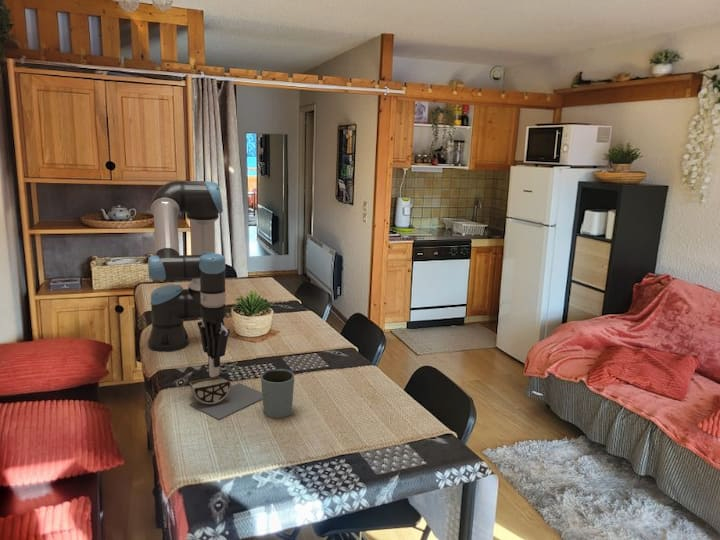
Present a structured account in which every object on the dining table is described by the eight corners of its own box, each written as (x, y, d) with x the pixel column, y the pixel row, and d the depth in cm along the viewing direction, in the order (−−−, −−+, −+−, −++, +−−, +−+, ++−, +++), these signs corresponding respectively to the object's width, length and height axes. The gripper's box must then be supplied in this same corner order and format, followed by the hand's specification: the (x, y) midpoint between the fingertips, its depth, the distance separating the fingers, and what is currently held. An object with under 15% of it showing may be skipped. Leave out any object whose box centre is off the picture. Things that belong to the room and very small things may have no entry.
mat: (189, 405, 165) (189, 404, 165) (239, 383, 181) (239, 382, 181) (218, 420, 157) (218, 419, 157) (268, 396, 173) (268, 395, 173)
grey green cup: (279, 423, 157) (279, 385, 155) (253, 413, 163) (253, 376, 160) (300, 409, 166) (301, 373, 163) (275, 400, 171) (275, 365, 168)
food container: (185, 401, 170) (194, 409, 161) (184, 382, 169) (192, 389, 161) (224, 393, 176) (234, 401, 168) (222, 375, 176) (232, 381, 167)
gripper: (189, 302, 166) (191, 373, 171) (217, 311, 158) (218, 385, 164) (209, 297, 171) (210, 366, 177) (236, 306, 164) (237, 377, 170)
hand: (214, 375), depth 170 cm, fingers closed
